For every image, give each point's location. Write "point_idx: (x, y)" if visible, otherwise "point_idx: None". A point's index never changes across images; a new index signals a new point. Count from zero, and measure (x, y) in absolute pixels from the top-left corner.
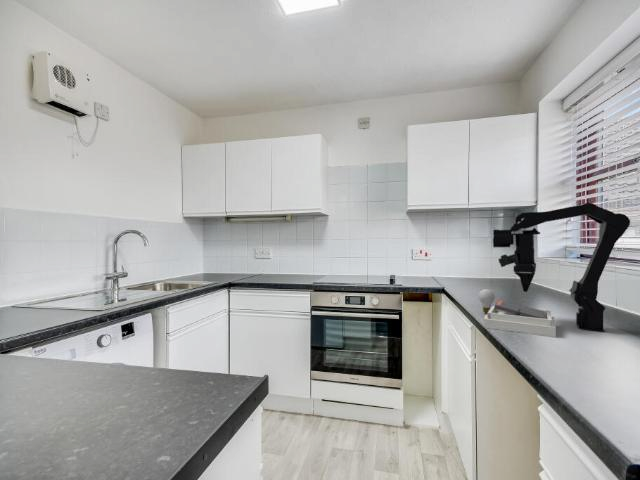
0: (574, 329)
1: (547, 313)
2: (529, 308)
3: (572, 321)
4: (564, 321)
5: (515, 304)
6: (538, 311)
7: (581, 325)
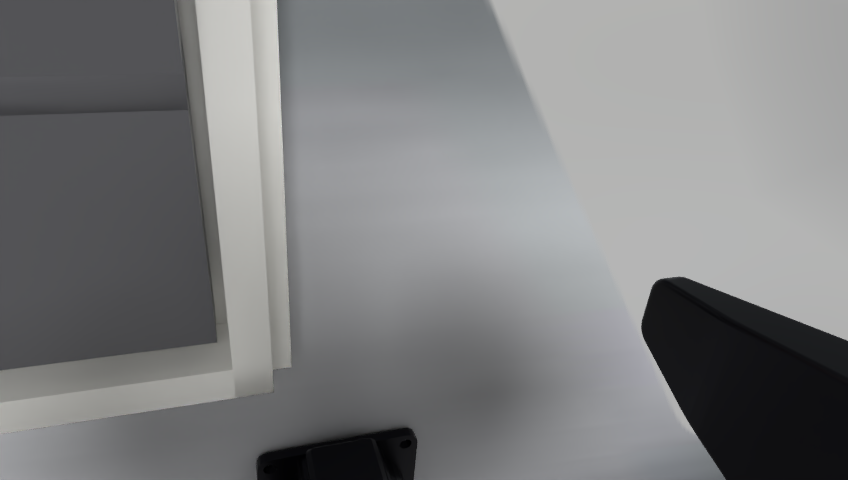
0: (226, 431)
1: (82, 393)
2: (97, 222)
3: (525, 385)
4: (500, 347)
5: (91, 10)
6: (67, 318)
7: (298, 477)
